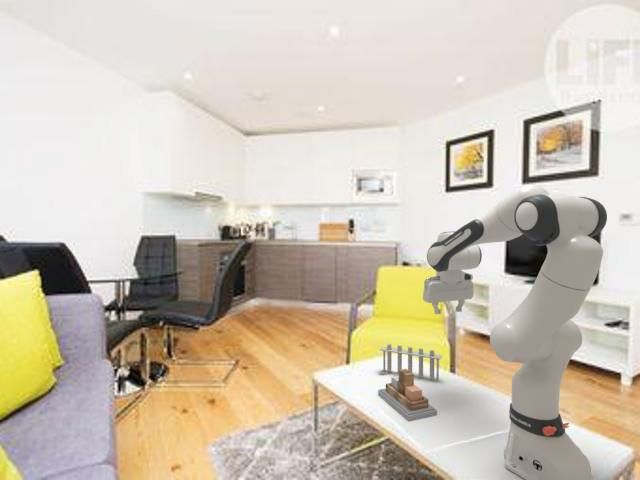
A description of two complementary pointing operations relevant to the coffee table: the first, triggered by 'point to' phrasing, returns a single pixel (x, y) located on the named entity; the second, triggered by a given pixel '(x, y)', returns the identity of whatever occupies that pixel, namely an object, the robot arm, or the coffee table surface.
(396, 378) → the pale blue cube
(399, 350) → the test tube rack
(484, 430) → the coffee table surface
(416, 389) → the block
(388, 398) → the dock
